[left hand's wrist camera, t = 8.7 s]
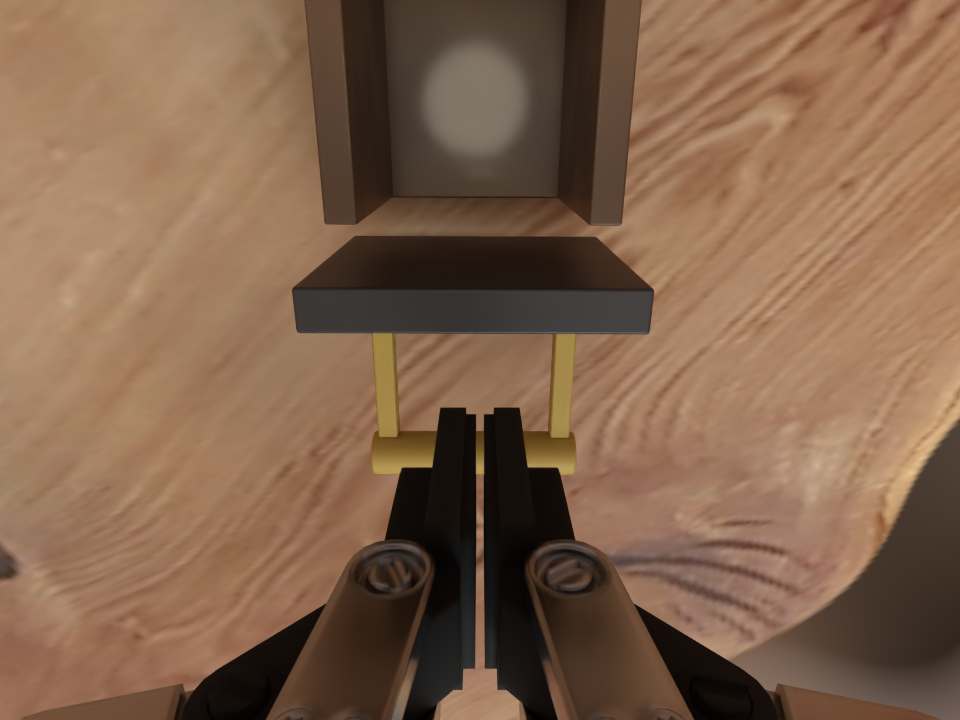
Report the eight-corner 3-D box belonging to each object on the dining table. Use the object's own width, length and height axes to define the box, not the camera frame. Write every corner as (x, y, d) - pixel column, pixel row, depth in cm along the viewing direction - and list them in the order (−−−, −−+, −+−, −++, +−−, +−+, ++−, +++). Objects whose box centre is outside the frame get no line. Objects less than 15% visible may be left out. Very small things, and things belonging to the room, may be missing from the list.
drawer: (584, 398, 24) (629, 513, 17) (365, 397, 24) (316, 511, 17) (645, -415, 16) (789, -888, 8) (306, -417, 16) (154, -892, 8)
